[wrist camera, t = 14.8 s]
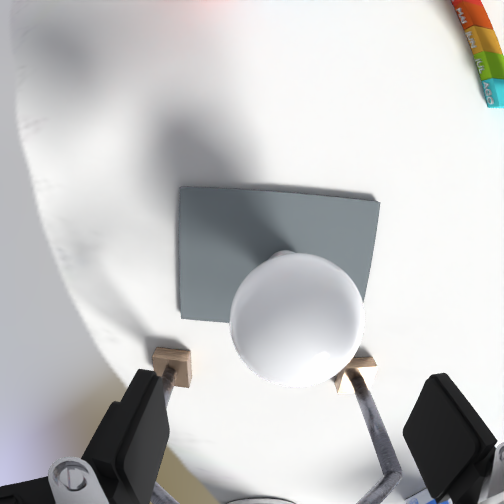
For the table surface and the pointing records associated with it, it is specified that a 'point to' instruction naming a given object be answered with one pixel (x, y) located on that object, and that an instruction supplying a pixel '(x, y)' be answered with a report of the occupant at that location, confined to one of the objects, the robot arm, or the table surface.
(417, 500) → the string lights box
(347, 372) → the wire arch
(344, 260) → the mat
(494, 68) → the chart
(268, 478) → the table surface
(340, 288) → the lightbulb
